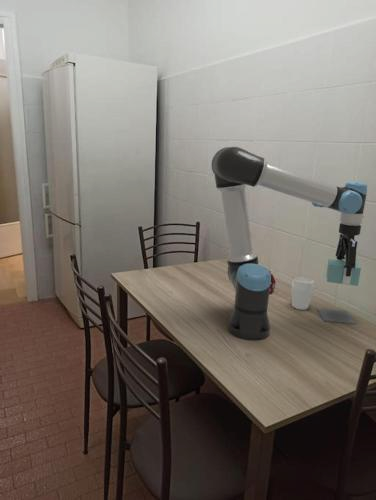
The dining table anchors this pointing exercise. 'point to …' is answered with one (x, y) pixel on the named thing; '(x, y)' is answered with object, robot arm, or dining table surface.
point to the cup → (301, 292)
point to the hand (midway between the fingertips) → (341, 279)
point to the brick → (341, 272)
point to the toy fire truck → (272, 284)
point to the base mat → (336, 316)
